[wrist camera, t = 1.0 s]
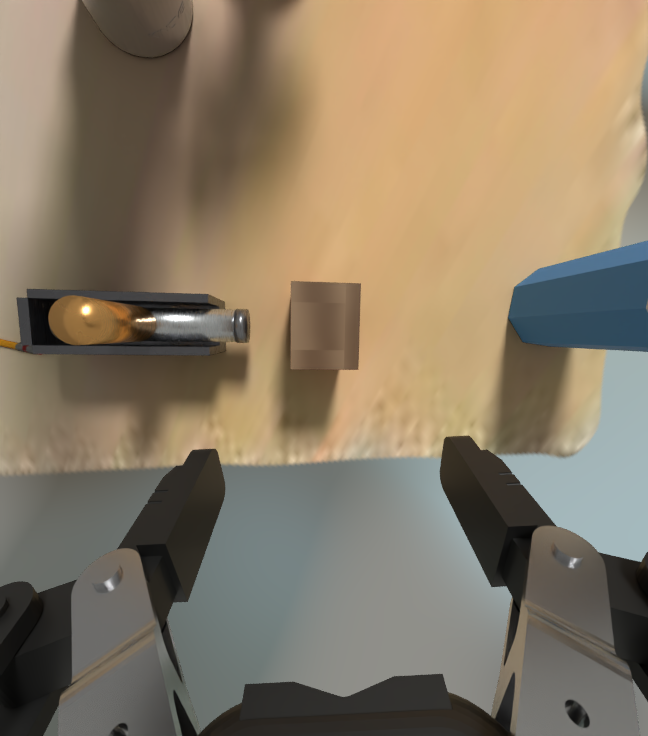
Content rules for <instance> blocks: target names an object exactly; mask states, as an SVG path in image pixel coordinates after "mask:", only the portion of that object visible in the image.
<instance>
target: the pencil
mask: <svg viewBox="0 0 648 736" xmlns="http://www.w3.org/2000/svg"><path fill="white" fill-rule="evenodd" d="M0 346H3V347H8V348H12V349H17V350H19V351H23V352H28V353H33V349H32V345H21V343H15V342H11V341H6V340H2V339H0ZM40 355H41V354H40Z"/></svg>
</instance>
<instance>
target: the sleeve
mask: <svg viewBox="0 0 648 736" xmlns="http://www.w3.org/2000/svg"><path fill="white" fill-rule="evenodd" d="M70 295H75V296H82V297H88V298H94V299H100V300H105V301H111V302H117V303H123V304H129V305H135V306H140V307H144V308H186V309H225V302H224V301H222V300H220V299H217V298H215V297H213V296H211V295H209V294H183V293H149V292H114V291H79V290H45V289H27V297H28V298H17V306H18V316H19V327H20V337H21V345H32V349H33V354H101V355H213V354H216V353H220V352H224V351H226V342H179V341H141V342H124V343H107V344H90V345H71V344H68V343H65V342H63V341H62V340H60V339H58V338H56V337H55V336H54V335H53V334H52V332H51V330H50V328H49V324H48V316H49V311H50V309H51V307H52V305H53V304H54V303H55V302H56V301H57V300H58V299H60V298H62V297H65V296H70Z"/></svg>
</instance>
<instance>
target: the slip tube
mask: <svg viewBox="0 0 648 736" xmlns="http://www.w3.org/2000/svg"><path fill="white" fill-rule="evenodd" d="M48 324H49V328H50V330H51V332H52V334H53V335H54V336H55V337H56V338H58V339H60V340H62V341H63V342H65V343H68V344H71V345H90V344H107V343H124V342H141V341H179V342H237V343H249V339H250V316H249V311H248V309H236V310H228V309H186V308H144V307H140V306H135V305H129V304H123V303H117V302H111V301H105V300H100V299H94V298H88V297H82V296H75V295H70V296H65V297H62V298H60V299H58V300H57V301H56V302H55V303H54V304H53V305H52V307H51V309H50V311H49V316H48Z"/></svg>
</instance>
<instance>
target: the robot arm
mask: <svg viewBox="0 0 648 736" xmlns="http://www.w3.org/2000/svg"><path fill="white" fill-rule="evenodd" d="M82 2H83V3H84V5H85V7H86V8H87V10H88V11H89V13H90V14H91V16H92V17H93V19H94V21H95V22H96V24H97V25H98V27H99V28H100V30H101V32H102V33H103V34H104V35H105V36H106V37H107V38H108V39H109V40H110V41H111V42H112V43H113V44H115V45H116V46H117V47H118V48H120V49H122V50H124V51H126V52H128V53H130V54H133V55H137V56H140V57H156V56H162V55H164V54H166V53H169V52H171V51H172V50H174V49H175V48H176V47H178V46H179V45H180V44H181V42H182V41H183V40H184V39H185V37H186V35H187V33H188V31H189V29H190V26H191V21H192V16H193V4H192V0H82ZM440 480H441V484H442V487H443V490H444V492H445V494H446V496H447V498H448V500H449V502H450V504H451V506H452V508H453V510H454V512H455V514H456V516H457V518H458V520H459V522H460V524H461V526H462V528H463V530H464V532H465V534H466V536H467V538H468V540H469V542H470V544H471V546H472V548H473V550H474V552H475V554H476V556H477V558H478V560H479V562H480V564H481V566H482V568H483V570H484V573H485V575H486V577H487V579H488V580H489V583H490V585H491V587H500V586H507V588H508V590H509V591H510V593H511V595H512V599H511V603H510V609H509V616H508V622H507V629H506V635H505V643H504V649H503V655H502V663H501V668H500V675H499V680H498V684H497V688H496V693H495V697H494V701H493V706H492V712H491V716H490V715H489V714H488V713H486V712H485V711H484V710H482V709H481V708H479V707H478V706H476V705H475V704H473V703H471V702H470V701H468V700H466V699H464V698H462V697H459V696H457V695H455V694H452V693H449V692H447V688H446V685H445V682H444V678H443V674H432V675H415V676H394V677H392V678H389V679H387V680H385V681H383V682H380V683H378V684H376V685H373V686H371V687H369V688H367V689H364V690H362V691H360V692H358V693H355V694H353V695H351V696H348V697H340V696H337V695H334V694H330V693H327V692H324V691H321V690H318V689H315V688H311V687H308V686H305V685H302V684H299V683H295V682H280V683H262V684H246V685H245V689H244V695H243V700H242V703H240V704H238V705H236V706H234V707H232V708H231V709H229V710H227V711H226V712H224V713H222V714H221V715H220V716H219V717H217V718H216V719H215V720H213V721H212V722H211V723H210V724H209V725H208V726H207V727H206V728H205V729H204V730H203V731H202V732H201V730H200V726H199V723H198V720H197V717H196V714H195V711H194V708H193V705H192V702H191V700H190V697H189V694H188V690H187V687H186V683H185V680H184V676H183V673H182V669H181V665H180V661H179V658H178V654H177V650H176V647H175V643H174V639H173V636H172V632H171V629H170V625H169V621H168V619H167V616H168V614H169V611H170V609H171V606H172V604H173V602H188V599H189V597H190V594H191V591H192V588H193V585H194V582H195V580H196V577H197V574H198V571H199V568H200V565H201V563H202V560H203V557H204V554H205V551H206V549H207V546H208V543H209V540H210V537H211V535H212V532H213V529H214V526H215V523H216V520H217V518H218V515H219V512H220V509H221V506H222V503H223V500H224V496H225V481H224V477H223V472H222V468H221V464H220V460H219V456H218V452H217V450H216V449H201V450H192V451H191V452H190V454H189V456H188V457H187V459H186V461H185V462H184V464H183V466H176V467H175V468H173V469H172V470H171V471H170V472H169V473H168V474H166V475H165V476H164V477H163V479H162V480H161V482H160V483H159V485H158V486H157V488H156V489H155V493H153V494H152V496H151V497H150V499H149V500H148V504H146V505H145V507H144V508H143V510H142V511H141V513H140V514H139V516H138V517H137V519H136V521H135V522H134V524H133V526H132V527H131V528H130V530H129V532H128V533H127V535H126V536H125V538H124V539H123V541H122V543H121V544H120V546H119V547H118V549H117V550H114V551H112V552H109V553H107V554H105V555H103V556H102V557H100V558H98V559H97V560H96V561H94V562H93V563H92V564H90V566H88V567H87V568H86V569H85V570H84V571H83V572H82V574H81V575H80V576H79V578H78V579H77V580H74V581H72V582H69V583H66V584H63V585H60V586H57V587H54V588H51V589H48V590H45V591H43V592H40V593H37V592H36V591H35V590H34V588H33V587H32V585H31V584H29V583H28V582H14V583H10V584H7V585H4V586H2V587H0V736H43V735H44V733H45V731H46V729H47V727H48V725H49V723H50V721H51V719H52V717H53V715H54V713H55V711H56V709H57V707H58V705H59V709H58V710H59V711H58V736H640V729H639V722H638V715H637V708H636V701H635V694H634V687H633V680H634V681H635V683H636V684H637V686H638V687H639V689H640V690H641V692H642V693H643V695H644V696H645V698H646V699H647V701H648V552H647V553H646V555H645V557H644V558H643V560H642V562H638V561H633V560H629V559H624V558H620V557H616V556H611V555H607V554H603V553H599V552H597V550H596V549H595V548H594V547H593V546H592V545H591V544H590V543H589V542H587V541H586V540H585V539H583V538H582V537H580V536H579V535H577V534H575V533H573V532H571V531H569V530H567V529H563V528H561V527H557V526H556V525H555V524H554V523H553V522H552V520H551V519H550V518H549V517H548V515H547V514H546V513H545V512H544V511H543V509H542V508H541V507H540V506H539V505H538V503H537V502H536V501H535V500H534V498H533V497H532V496H531V495H530V494H529V493H528V491H527V490H526V489H525V488H524V486H523V485H521V484H520V481H519V480H518V479H517V478H516V477H515V475H512V472H511V471H510V469H509V468H508V467H507V466H506V464H505V463H504V462H503V461H502V460H501V459H500V458H498V457H497V456H495V455H494V454H492V453H491V452H490V451H488V450H480V448H479V447H478V446H477V444H476V443H475V442H474V441H473V439H472V438H471V437H470V436H453V437H446V438H445V439H444V444H443V451H442V459H441V467H440ZM632 678H633V680H632ZM70 684H71V685H70Z"/></svg>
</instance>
